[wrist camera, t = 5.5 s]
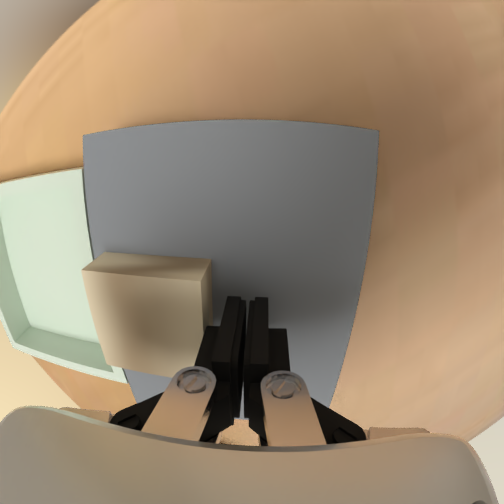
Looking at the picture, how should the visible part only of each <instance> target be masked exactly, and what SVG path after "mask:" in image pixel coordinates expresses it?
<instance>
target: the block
mask: <svg viewBox="0 0 504 504" xmlns="http://www.w3.org/2000/svg"><path fill="white" fill-rule="evenodd" d="M81 272H82V277H83V282H84V286H85V291H86V295H87V299H88V303H89V307H90V311H91V315H92V318H93V322H94V326H95V329H96V332H97V336H98V339H99V342H100V345H101V348H102V351H103V354H104V357H105V360H106V363H107V365H111V366H115V367H120V368H124V369H129V370H133V371H138V372H143V373H148V374H153V375H159V376H165V377H171V378H173V376H174V375H175V374H176V373H177V372H178V371H180V370H181V369H183V368H186V367H191V366H194V364H195V361H196V358H197V354H198V351H199V348H200V345H201V342H202V338H203V335H204V332H205V329H206V326H213V311H212V271H211V259H204V258H188V257H172V256H157V255H142V254H127V253H113V252H104V253H103V254H101V255H100V256H99V257H97V258H96V259H95V260H93V261H92V262H91V263H89V264H88V265H87V266H85V267H84V268H83V269H82V270H81Z"/></svg>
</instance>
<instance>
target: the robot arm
mask: <svg viewBox="0 0 504 504" xmlns="http://www.w3.org/2000/svg"><path fill="white" fill-rule="evenodd" d="M242 390H244V418H249V427H250V428H251V429H252V430H253V431H255V432H256V433H257V434H258V442H259V446H244V445H229V444H219V443H220V440H221V437H222V431H223V430H224V429H226V428H228V427H229V426H231V425H233V424H234V418H240V410H241V400H242ZM0 504H498V500H497V497H496V494H495V491H494V488H493V486H492V483H491V481H490V478H489V476H488V474H487V471H486V469H485V467H484V465H483V463H482V461H481V459H480V458H479V456H478V454H477V453H476V451H475V450H474V448H473V447H472V446H471V445H470V444H469V443H468V442H467V441H466V440H464V439H462V438H460V437H458V436H454V435H449V434H440V433H430V432H429V431H427V430H425V429H423V428H378V427H370V428H369V430H363V429H362V428H361V427H359V426H358V425H357V424H355V423H353V422H352V421H350V420H348V419H346V418H345V417H343V416H341V415H339V414H338V413H336V412H334V411H333V410H331V409H329V408H328V407H326V406H324V405H323V404H321V403H320V402H318V401H316V400H315V399H313V398H312V397H310V394H309V392H308V389H307V386H306V383H305V381H304V380H303V378H302V377H300V376H299V375H298V374H296V373H294V372H291V371H290V359H289V348H288V337H287V329H286V328H269V311H268V297H255V300H250V304H249V313H248V323H247V332H246V300H241V296H227V300H226V304H225V308H224V312H223V316H222V320H221V324H220V326H206V329H205V332H204V335H203V338H202V342H201V345H200V348H199V351H198V354H197V358H196V361H195V364H194V366H191V367H186V368H183V369H181V370H180V371H178V372H177V373H176V374H175V375H174V376H173V378H172V380H171V381H170V383H169V385H168V386H167V388H166V390H165V391H164V392H162V393H160V394H158V395H155V396H153V397H151V398H149V399H146V400H144V401H142V402H140V403H137V404H135V405H133V406H130V407H128V408H125V409H123V410H121V411H119V412H117V413H116V414H115V415H114V414H111V412H110V411H97V410H86V409H77V408H69V407H64V408H60V409H57V408H52V407H45V406H24V407H19V408H16V409H14V410H13V411H11V412H10V413H9V414H8V415H7V416H6V417H5V418H4V419H3V420H2V421H1V422H0Z"/></svg>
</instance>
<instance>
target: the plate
mask: <svg viewBox="0 0 504 504" xmlns="http://www.w3.org/2000/svg"><path fill="white" fill-rule="evenodd" d="M378 145H379V131H378V130H372V129H366V128H359V127H351V126H343V125H335V124H325V123H314V122H301V121H284V120H203V121H185V122H172V123H162V124H152V125H143V126H135V127H128V128H121V129H115V130H109V131H103V132H97V133H92V134H87V135H83V162H84V180H85V192H86V203H87V212H88V220H89V227H90V234H91V241H92V247H93V253H94V258H95V259H96V258H97V257H99V256H100V255H101V254H103V253H104V252H113V253H127V254H142V255H157V256H172V257H188V258H204V259H211V271H212V311H213V326H220V324H221V320H222V316H223V312H224V308H225V304H226V300H227V296H241V300H246V332H247V323H248V313H249V304H250V300H255V297H268V311H269V328H286V329H287V337H288V348H289V359H290V371H291V372H294V373H296V374H298V375H299V376H300V377H302V378H303V380H304V381H305V383H306V386H307V389H308V392H309V394H310V397H312V398H313V399H315V400H316V401H318V402H320V403H321V404H323V405H324V406H326V407H328V408H329V406H330V403H331V400H332V397H333V394H334V391H335V388H336V385H337V381H338V378H339V375H340V371H341V368H342V365H343V361H344V357H345V354H346V350H347V346H348V343H349V339H350V335H351V331H352V327H353V322H354V318H355V314H356V309H357V305H358V300H359V295H360V290H361V285H362V280H363V275H364V269H365V264H366V258H367V252H368V245H369V239H370V232H371V224H372V216H373V208H374V199H375V188H376V177H377V163H378ZM124 371H125V373H126V376H127V379H128V382H129V384H130V387H131V389H132V392H133V395H134V397H135V400H136V402H137V403H140V402H142V401H144V400H146V399H149V398H151V397H153V396H155V395H158V394H160V393H162V392H164V391H165V390H166V388H167V386H168V385H169V383H170V381H171V380H172V378H171V377H165V376H159V375H153V374H148V373H143V372H138V371H133V370H129V369H124ZM234 419H244V420H249V418H244V390H242V400H241V410H240V418H234Z"/></svg>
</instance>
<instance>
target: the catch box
mask: <svg viewBox="0 0 504 504" xmlns="http://www.w3.org/2000/svg"><path fill="white" fill-rule="evenodd" d="M93 260H95V258H94V253H93V247H92V241H91V234H90V227H89V220H88V212H87V203H86V192H85V180H84V167H78V168H71V169H65V170H58V171H53V172H47V173H42V174H36V175H31V176H26V177H22V178H17V179H12V180H8V181H4V182H0V319H1V322H2V324H3V326H4V329H5V331H6V333H7V336H8V338H9V340H10V342H11V344H12V346H13V348H15V349H17V350H19V351H22V352H24V353H27V354H30V355H32V356H35V357H37V358H40V359H43V360H46V361H49V362H51V363H54V364H57V365H60V366H63V367H67V368H70V369H73V370H76V371H80V372H83V373H87V374H90V375H94V376H98V377H102V378H106V379H110V380H114V381H118V382H122V383H127V384H128V379H127V376H126V373H125V371H124V368H120V367H115V366H111V365H107V363H106V360H105V357H104V354H103V351H102V348H101V345H100V342H99V339H98V336H97V332H96V329H95V326H94V322H93V318H92V315H91V311H90V307H89V303H88V299H87V295H86V291H85V286H84V282H83V277H82V272H81V270H82V269H83V268H84V267H85V266H87V265H88V264H89V263H91V262H92V261H93Z"/></svg>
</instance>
